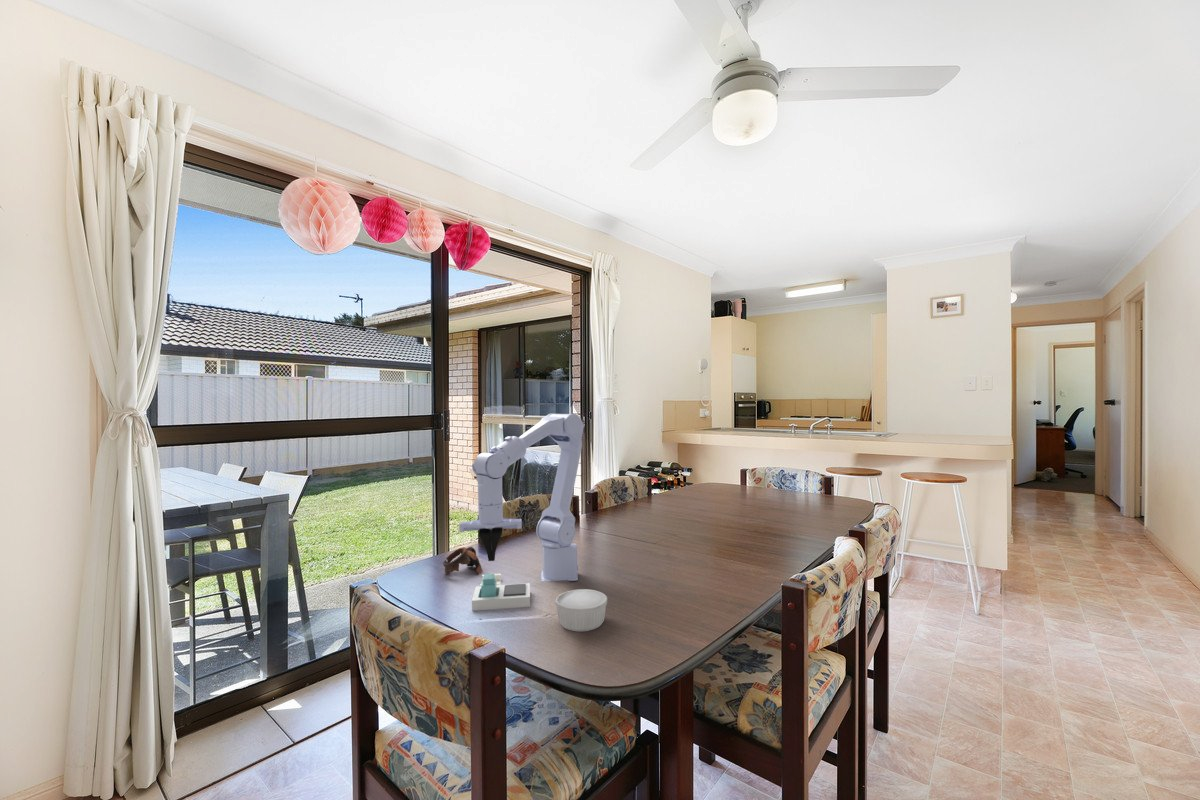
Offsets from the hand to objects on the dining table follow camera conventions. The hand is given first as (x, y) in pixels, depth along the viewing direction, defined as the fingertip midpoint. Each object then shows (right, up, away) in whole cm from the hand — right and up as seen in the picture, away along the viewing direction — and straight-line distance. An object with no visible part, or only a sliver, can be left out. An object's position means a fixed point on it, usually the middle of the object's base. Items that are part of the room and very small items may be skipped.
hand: (491, 559), depth 122 cm
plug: (0, -10, -2) cm, 10 cm away
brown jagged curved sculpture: (-11, -10, +19) cm, 25 cm away
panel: (+3, -10, -2) cm, 10 cm away
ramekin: (+22, -10, -12) cm, 27 cm away
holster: (-2, -10, +9) cm, 13 cm away
